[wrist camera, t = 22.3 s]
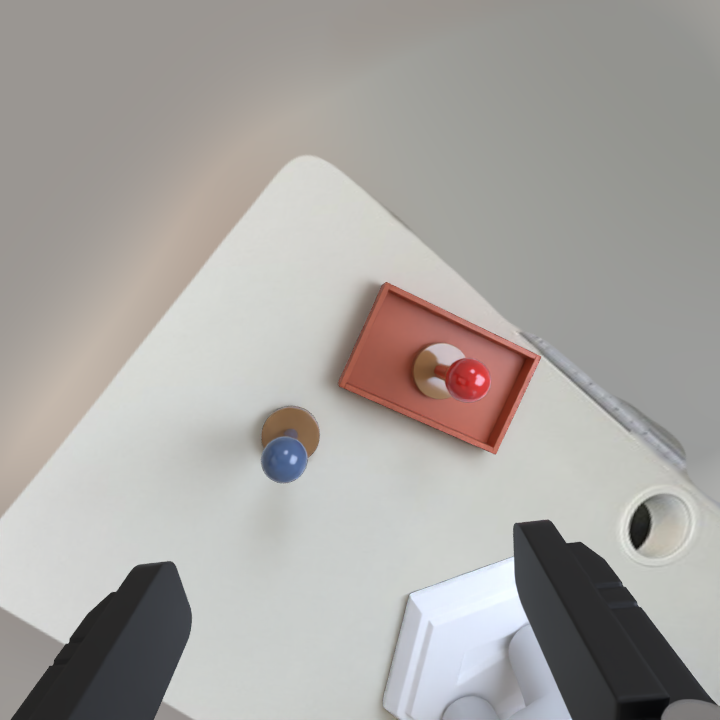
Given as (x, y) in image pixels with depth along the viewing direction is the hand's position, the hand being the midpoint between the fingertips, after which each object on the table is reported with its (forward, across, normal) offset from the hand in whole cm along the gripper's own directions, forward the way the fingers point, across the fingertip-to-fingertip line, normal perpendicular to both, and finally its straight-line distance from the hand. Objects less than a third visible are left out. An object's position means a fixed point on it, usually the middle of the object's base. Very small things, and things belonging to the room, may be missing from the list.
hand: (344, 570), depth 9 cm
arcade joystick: (+27, -7, +5) cm, 29 cm away
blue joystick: (+25, +7, +9) cm, 28 cm away
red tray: (+28, -7, +5) cm, 29 cm away
